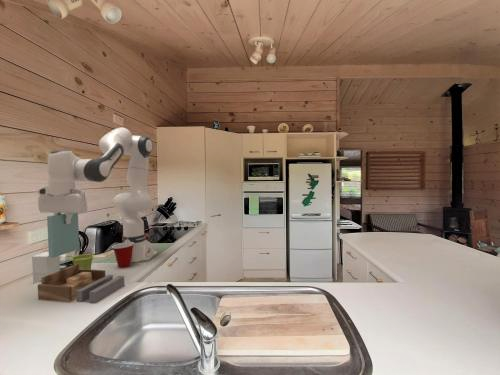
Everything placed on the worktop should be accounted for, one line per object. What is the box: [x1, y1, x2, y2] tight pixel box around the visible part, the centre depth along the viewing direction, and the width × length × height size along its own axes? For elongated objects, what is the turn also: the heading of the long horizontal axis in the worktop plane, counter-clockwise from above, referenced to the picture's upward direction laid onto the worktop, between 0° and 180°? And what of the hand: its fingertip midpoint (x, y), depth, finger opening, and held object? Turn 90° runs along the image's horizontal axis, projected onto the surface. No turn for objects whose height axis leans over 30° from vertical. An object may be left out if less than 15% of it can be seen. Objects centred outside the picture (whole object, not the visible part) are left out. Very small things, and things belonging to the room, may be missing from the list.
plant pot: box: [70, 253, 95, 270], centre depth 128 cm, size 9×9×9 cm
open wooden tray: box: [37, 264, 106, 303], centre depth 105 cm, size 18×14×10 cm
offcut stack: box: [64, 272, 95, 297], centre depth 105 cm, size 12×5×6 cm, turn 169°
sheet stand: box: [75, 274, 125, 304], centre depth 103 cm, size 16×8×6 cm, turn 169°
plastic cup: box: [111, 242, 134, 269], centre depth 139 cm, size 11×11×12 cm
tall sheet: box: [46, 213, 80, 258], centre depth 105 cm, size 12×2×16 cm, turn 169°
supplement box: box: [31, 251, 61, 285], centre depth 120 cm, size 7×7×13 cm
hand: (63, 223), depth 105 cm, fingers closed on tall sheet, 2 cm apart
